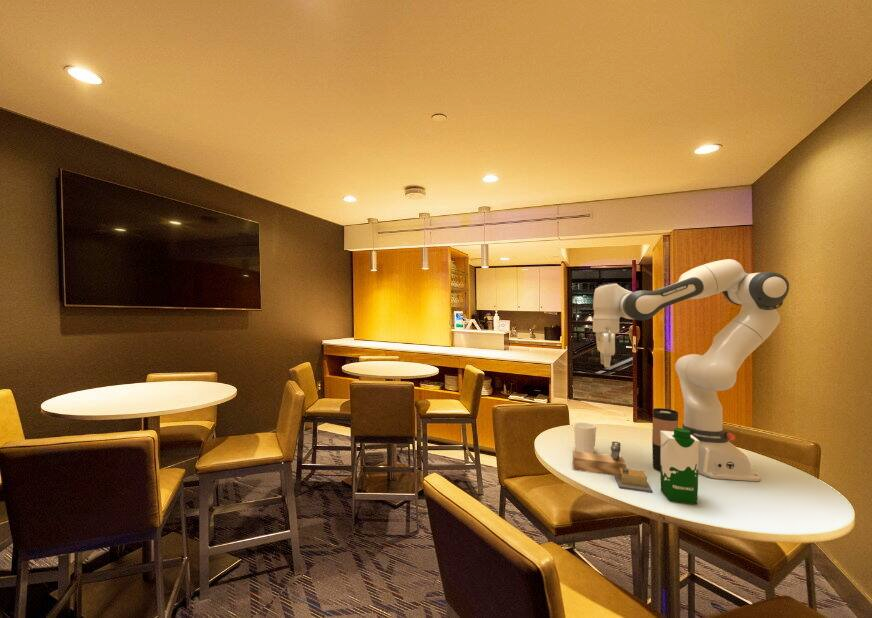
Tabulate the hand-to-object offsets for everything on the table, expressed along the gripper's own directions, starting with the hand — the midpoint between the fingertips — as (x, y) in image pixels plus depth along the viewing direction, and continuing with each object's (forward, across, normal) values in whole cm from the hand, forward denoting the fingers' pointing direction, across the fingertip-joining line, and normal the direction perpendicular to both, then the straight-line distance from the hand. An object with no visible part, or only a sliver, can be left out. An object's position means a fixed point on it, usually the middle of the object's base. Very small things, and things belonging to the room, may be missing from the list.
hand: (605, 365), depth 139 cm
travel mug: (+34, -2, -19) cm, 39 cm away
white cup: (+34, +7, +6) cm, 36 cm away
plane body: (+34, -10, +3) cm, 36 cm away
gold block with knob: (+34, -19, -6) cm, 39 cm away
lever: (+27, -13, -2) cm, 30 cm away
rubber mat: (+34, -19, -6) cm, 39 cm away
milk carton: (+34, -24, -17) cm, 45 cm away
